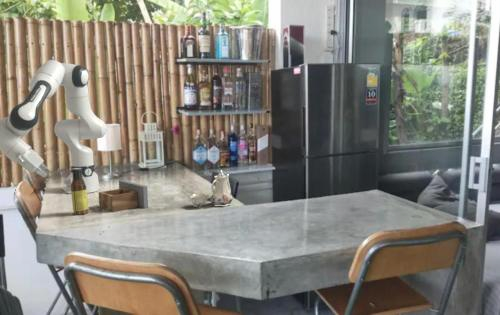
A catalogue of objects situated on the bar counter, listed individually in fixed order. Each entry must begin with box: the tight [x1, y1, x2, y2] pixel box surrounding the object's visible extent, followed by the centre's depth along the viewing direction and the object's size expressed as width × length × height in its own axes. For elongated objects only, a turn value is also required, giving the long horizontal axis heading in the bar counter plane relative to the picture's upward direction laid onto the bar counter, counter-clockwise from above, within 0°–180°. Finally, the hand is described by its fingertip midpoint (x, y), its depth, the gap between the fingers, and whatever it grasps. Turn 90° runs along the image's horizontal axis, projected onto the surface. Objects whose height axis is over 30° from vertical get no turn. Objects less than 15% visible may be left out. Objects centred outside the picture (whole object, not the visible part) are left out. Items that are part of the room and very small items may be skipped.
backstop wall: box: [118, 179, 149, 209], centre depth 203 cm, size 22×2×10 cm, turn 46°
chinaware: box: [188, 170, 234, 208], centre depth 202 cm, size 28×17×17 cm, turn 154°
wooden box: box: [98, 188, 138, 213], centre depth 198 cm, size 12×12×7 cm
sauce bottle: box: [70, 168, 89, 216], centre depth 186 cm, size 7×6×20 cm
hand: (47, 174), depth 181 cm, fingers open, 8 cm apart
